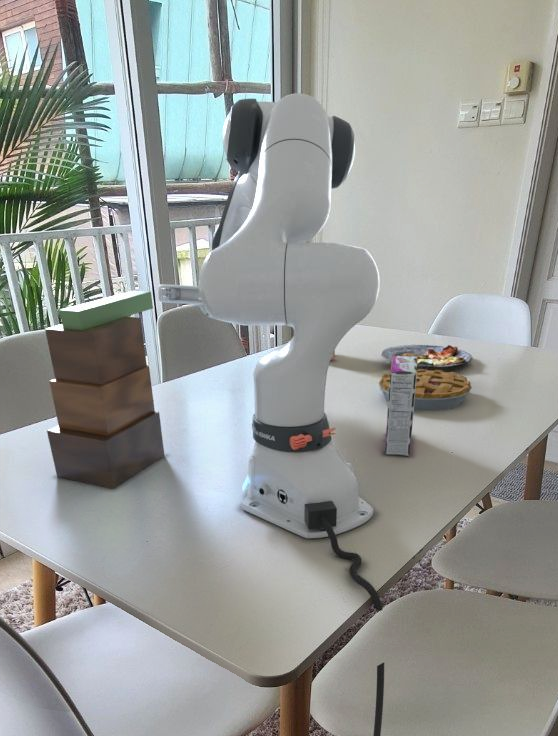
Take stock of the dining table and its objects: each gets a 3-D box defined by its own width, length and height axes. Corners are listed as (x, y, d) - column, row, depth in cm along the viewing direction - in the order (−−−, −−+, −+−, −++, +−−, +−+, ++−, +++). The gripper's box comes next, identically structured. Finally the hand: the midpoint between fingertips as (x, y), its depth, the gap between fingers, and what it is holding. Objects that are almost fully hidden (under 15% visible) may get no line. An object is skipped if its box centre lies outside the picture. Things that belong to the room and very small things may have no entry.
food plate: (471, 354, 183) (473, 342, 181) (471, 376, 163) (472, 362, 162) (386, 350, 189) (387, 338, 187) (376, 371, 170) (377, 358, 168)
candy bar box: (386, 434, 129) (392, 355, 120) (410, 436, 128) (418, 355, 119) (383, 455, 119) (389, 370, 111) (409, 457, 118) (418, 371, 110)
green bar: (135, 307, 118) (133, 290, 116) (153, 308, 116) (151, 291, 115) (62, 328, 102) (59, 309, 101) (81, 330, 101) (78, 311, 99)
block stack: (111, 446, 127) (89, 313, 113) (164, 455, 122) (147, 318, 108) (56, 477, 114) (24, 331, 101) (113, 488, 109) (87, 338, 96)
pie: (372, 410, 142) (373, 388, 140) (381, 382, 160) (383, 363, 158) (471, 415, 137) (474, 393, 135) (469, 386, 156) (472, 366, 153)
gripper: (179, 280, 143) (141, 275, 131) (257, 284, 134) (223, 279, 122) (179, 309, 145) (141, 306, 133) (255, 315, 136) (222, 313, 125)
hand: (181, 293), depth 128 cm, fingers open, 8 cm apart
